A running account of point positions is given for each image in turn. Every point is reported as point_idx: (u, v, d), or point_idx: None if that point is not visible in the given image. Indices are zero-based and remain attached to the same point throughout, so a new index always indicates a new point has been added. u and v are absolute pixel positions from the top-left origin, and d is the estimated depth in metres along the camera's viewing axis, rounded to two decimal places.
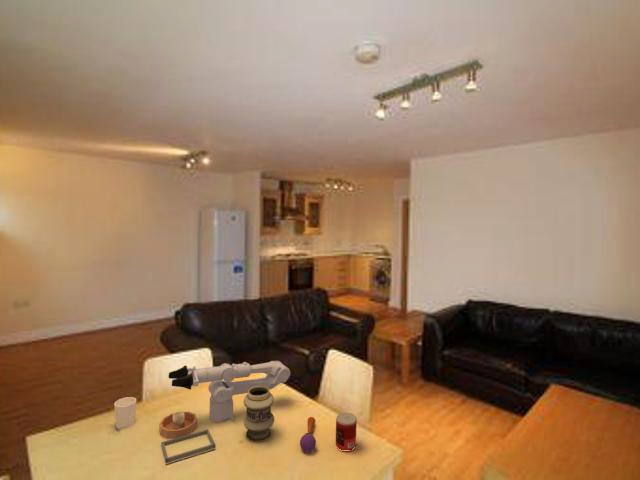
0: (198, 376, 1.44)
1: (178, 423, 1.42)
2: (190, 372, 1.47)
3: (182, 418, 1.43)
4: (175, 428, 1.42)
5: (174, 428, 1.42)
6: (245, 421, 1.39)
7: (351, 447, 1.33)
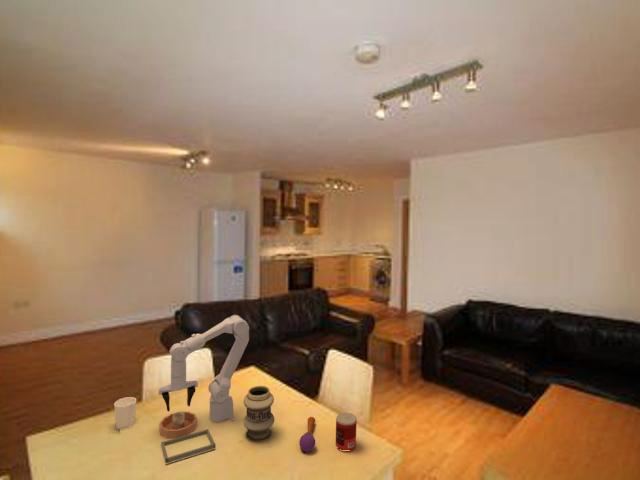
0: None
1: (178, 423, 1.42)
2: None
3: (182, 418, 1.43)
4: (175, 428, 1.42)
5: (174, 428, 1.42)
6: (245, 421, 1.39)
7: (351, 447, 1.33)
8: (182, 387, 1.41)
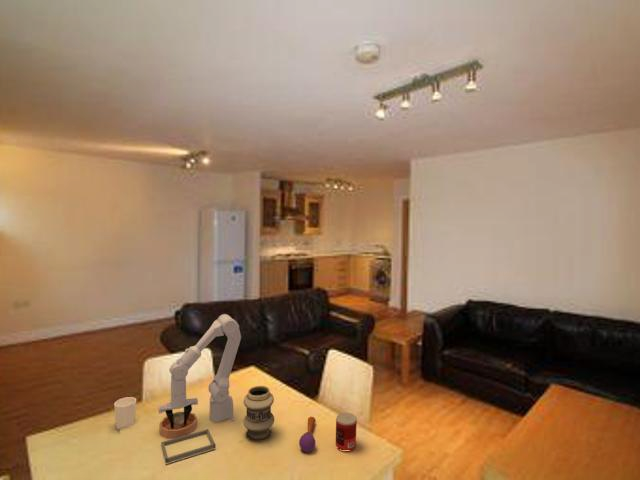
0: (171, 401, 1.42)
1: (178, 423, 1.42)
2: None
3: (182, 418, 1.43)
4: (175, 428, 1.42)
5: (174, 428, 1.42)
6: (245, 421, 1.39)
7: (351, 447, 1.33)
8: (182, 405, 1.41)
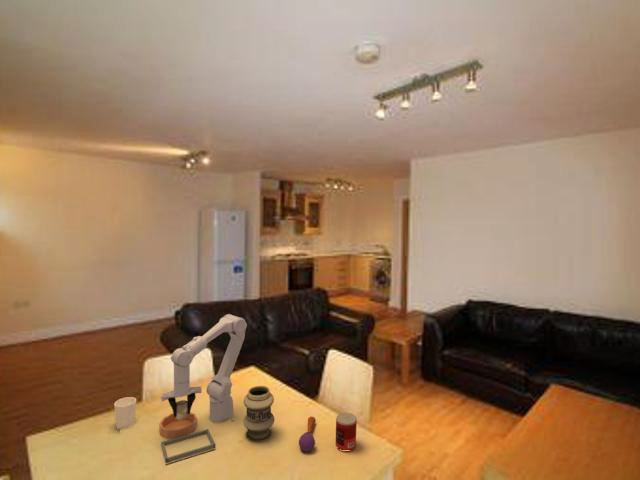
0: (174, 389, 1.38)
1: (181, 411, 1.37)
2: None
3: (185, 406, 1.38)
4: (178, 417, 1.37)
5: (177, 417, 1.37)
6: (245, 421, 1.39)
7: (351, 447, 1.33)
8: (185, 393, 1.37)
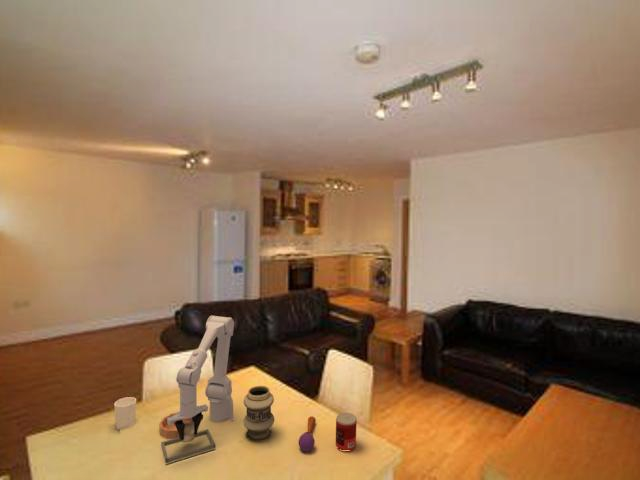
0: (180, 411, 1.30)
1: (189, 433, 1.30)
2: None
3: (193, 427, 1.32)
4: (186, 439, 1.30)
5: (185, 439, 1.30)
6: (245, 421, 1.39)
7: (351, 447, 1.33)
8: (194, 414, 1.30)
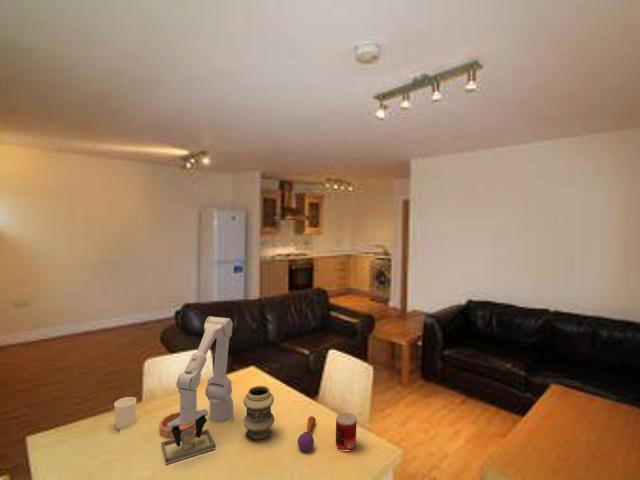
0: (180, 416, 1.30)
1: (189, 442, 1.30)
2: None
3: (193, 436, 1.32)
4: (186, 448, 1.30)
5: (185, 448, 1.30)
6: (245, 421, 1.39)
7: (351, 447, 1.33)
8: (194, 418, 1.30)
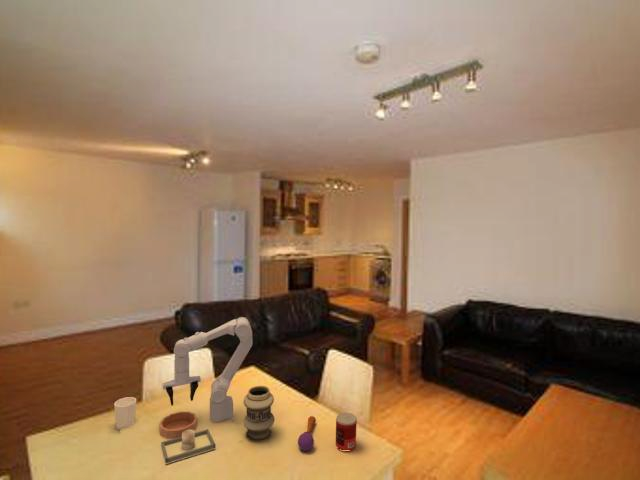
0: None
1: (190, 442, 1.30)
2: None
3: (193, 436, 1.32)
4: (186, 448, 1.30)
5: (185, 448, 1.30)
6: (245, 421, 1.39)
7: (351, 447, 1.33)
8: (185, 382, 1.45)
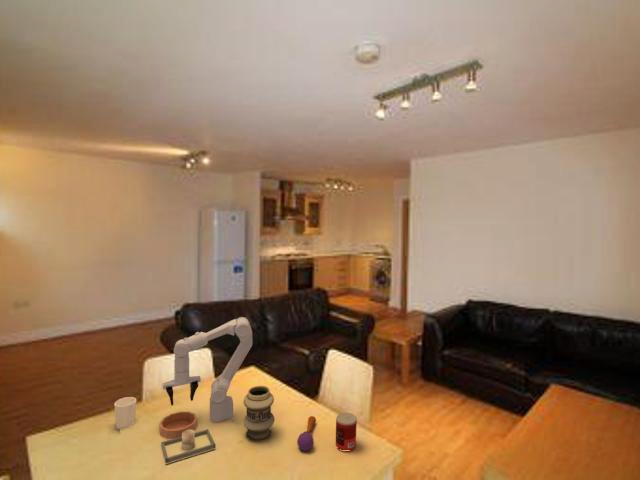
0: None
1: (190, 442, 1.30)
2: None
3: (193, 436, 1.32)
4: (186, 448, 1.30)
5: (185, 448, 1.30)
6: (245, 421, 1.39)
7: (351, 447, 1.33)
8: (185, 382, 1.45)
